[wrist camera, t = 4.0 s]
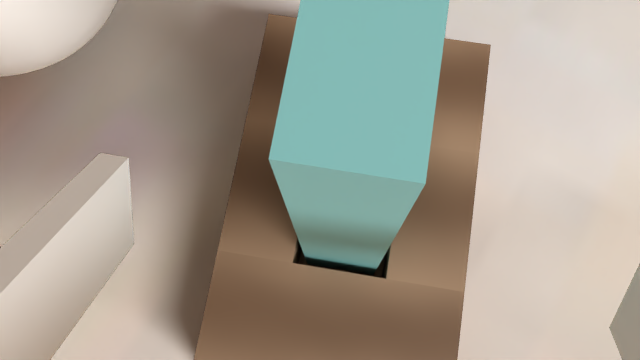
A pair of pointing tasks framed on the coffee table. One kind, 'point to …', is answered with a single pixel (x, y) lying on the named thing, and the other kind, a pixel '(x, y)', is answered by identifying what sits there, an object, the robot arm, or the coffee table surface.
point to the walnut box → (334, 284)
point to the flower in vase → (46, 31)
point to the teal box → (357, 124)
